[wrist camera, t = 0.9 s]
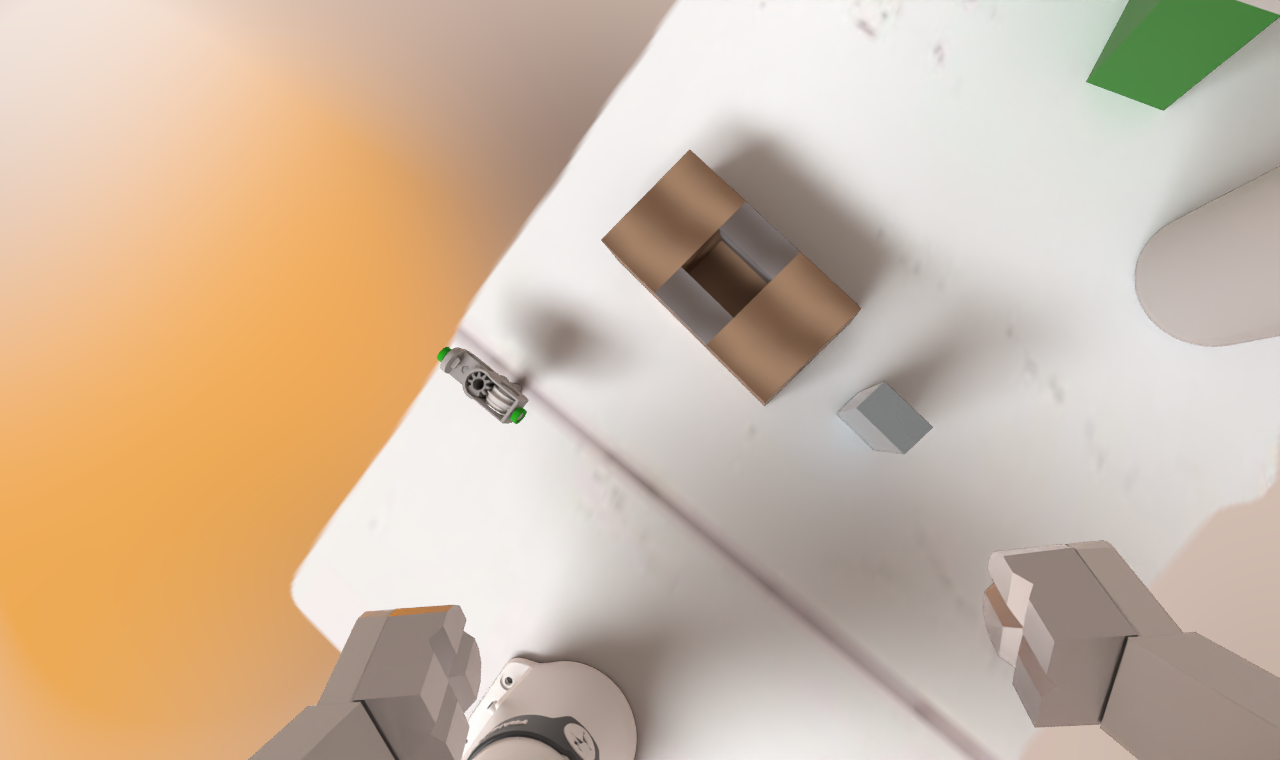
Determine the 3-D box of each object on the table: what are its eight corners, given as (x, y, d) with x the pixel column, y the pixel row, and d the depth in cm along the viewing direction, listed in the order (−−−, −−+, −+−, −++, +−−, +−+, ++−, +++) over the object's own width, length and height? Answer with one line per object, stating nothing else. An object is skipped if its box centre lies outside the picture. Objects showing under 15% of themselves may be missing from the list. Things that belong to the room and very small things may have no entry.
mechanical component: (488, 352, 75) (447, 339, 65) (558, 408, 73) (526, 404, 63) (472, 373, 75) (429, 364, 65) (541, 430, 73) (507, 429, 63)
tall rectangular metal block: (873, 450, 67) (904, 454, 52) (836, 413, 68) (856, 408, 53) (895, 428, 67) (932, 427, 52) (857, 392, 68) (884, 381, 53)
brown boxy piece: (764, 406, 69) (764, 402, 61) (618, 260, 73) (601, 239, 65) (850, 322, 68) (861, 308, 60) (697, 180, 72) (689, 149, 64)
